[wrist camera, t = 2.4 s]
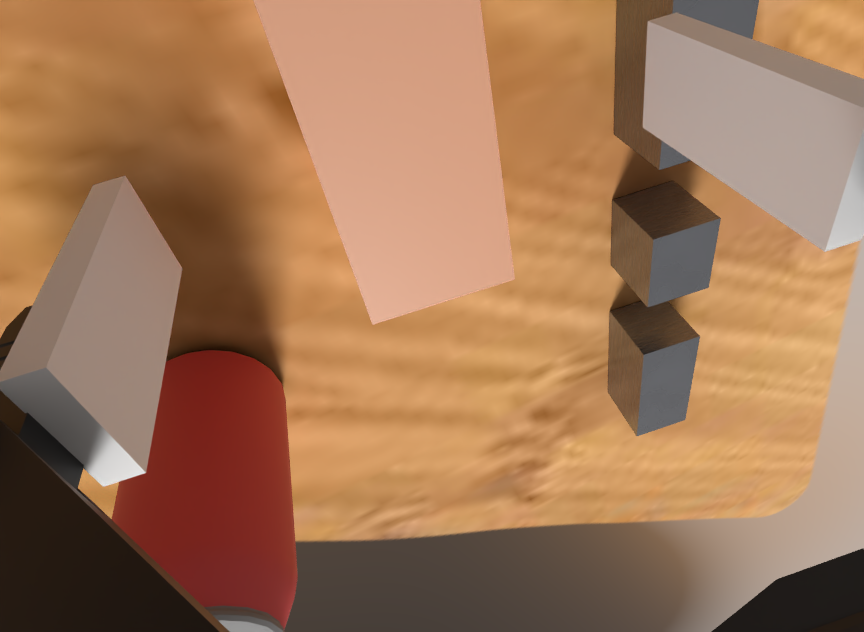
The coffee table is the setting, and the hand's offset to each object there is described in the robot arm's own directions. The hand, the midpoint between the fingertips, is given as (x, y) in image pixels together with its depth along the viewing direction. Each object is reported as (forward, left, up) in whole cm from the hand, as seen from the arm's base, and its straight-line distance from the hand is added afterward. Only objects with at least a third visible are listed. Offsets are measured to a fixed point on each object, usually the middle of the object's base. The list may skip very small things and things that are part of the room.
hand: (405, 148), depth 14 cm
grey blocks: (+11, +11, -7) cm, 17 cm away
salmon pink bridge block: (0, 0, -7) cm, 7 cm away
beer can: (+13, -11, -7) cm, 18 cm away
